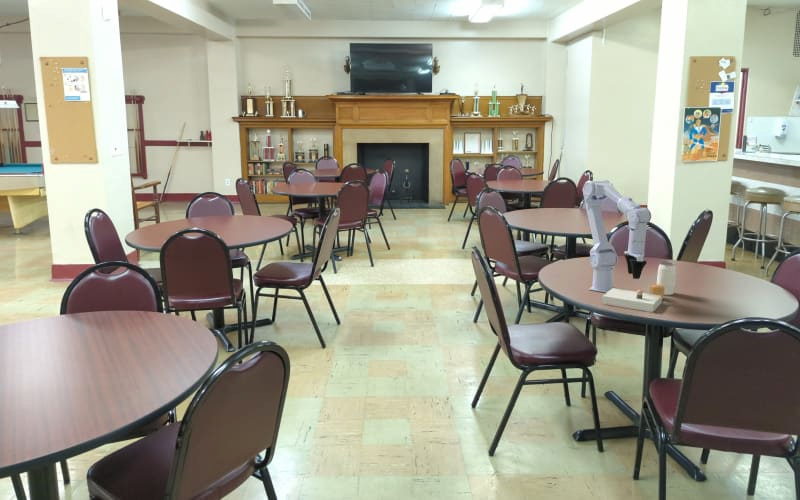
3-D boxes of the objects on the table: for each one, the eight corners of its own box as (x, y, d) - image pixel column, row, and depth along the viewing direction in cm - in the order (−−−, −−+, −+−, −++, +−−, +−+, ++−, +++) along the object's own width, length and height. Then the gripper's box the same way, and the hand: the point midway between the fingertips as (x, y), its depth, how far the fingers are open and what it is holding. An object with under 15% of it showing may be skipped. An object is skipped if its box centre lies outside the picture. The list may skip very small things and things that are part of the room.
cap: (651, 296, 245) (652, 283, 244) (663, 298, 243) (665, 285, 242) (648, 298, 242) (649, 286, 241) (661, 300, 239) (662, 288, 238)
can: (672, 291, 252) (676, 262, 249) (674, 296, 246) (677, 266, 243) (655, 290, 254) (658, 261, 251) (656, 294, 248) (659, 264, 245)
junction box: (612, 295, 246) (613, 280, 244) (661, 303, 236) (662, 287, 235) (601, 303, 234) (603, 288, 233) (652, 312, 224) (654, 296, 223)
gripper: (621, 236, 241) (618, 271, 244) (630, 243, 227) (627, 280, 230) (640, 237, 240) (637, 271, 243) (650, 244, 226) (647, 281, 229)
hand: (633, 276), depth 236 cm, fingers open, 7 cm apart
